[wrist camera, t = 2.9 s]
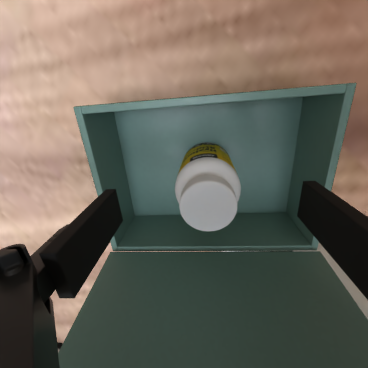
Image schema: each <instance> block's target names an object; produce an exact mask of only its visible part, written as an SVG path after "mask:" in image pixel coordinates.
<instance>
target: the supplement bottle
mask: <svg viewBox="0 0 368 368" xmlns="http://www.w3.org/2000/svg"><path fill="white" fill-rule="evenodd" d="M240 193H241V185H240V181H239V177H238V175H237V173H236V170H235V168H234V166H233V164H232V161H231V159H230V157H229V155H228V154H227V152H226V151H225V150H224V149H223V148H222V147H221V146H219V145H217V144H215V143H211V142H203V143H199V144H197V145H195V146H193V147H192V148H190V149H189V150H188V152H187V153H186V154H185V156H184V159H183V161H182V164H181V167H180V170H179V173H178V176H177V179H176V183H175V194H176V198H177V201H178V203H179V208H180V213H181V215H182V217H183V219H184V220H185V222H186V223H187V224H189V225H190V226H191V227H193V228H195V229H198V230H201V231H216V230H219V229H222V228H224V227H226V226H227V225H228V224H230V223H231V221H232V220H233V219H234V217H235V215H236V212H237V202H238V200H239V197H240Z"/></svg>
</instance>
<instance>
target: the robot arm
mask: <svg viewBox="0 0 368 368" xmlns="http://www.w3.org/2000/svg"><path fill="white" fill-rule="evenodd" d="M297 217H298V218H299V219H300V220H301V221H302V223H303V224H304V225H305V226H306V227H307V228H308V230H309V231H310V232H311V233H312V234H313V236H314V237H315V238H316V239H317V240H318V242H319V243H320V244H321V245H322V246H323V247H324V249H325V250H326V251H327V252H328V253H329V255H330V256H331V257H332V258H333V259H334V261H335V262H336V263H337V264H338V265H339V266H340V268H341V269H342V270H343V271H344V272H345V274H346V275H347V276H348V277H349V278H350V280H351V281H352V282H353V283H354V284H355V285H356V287H357V288H358V289H359V290H360V291H361V293H362V294H363V295H364V296H365V297H366V299H367V300H368V216H365V215H364V214H362V213H361V212H359V211H358V210H357V209H355V208H354V207H352V206H351V205H349V204H348V203H347V202H345V201H344V200H342V199H341V198H339V197H338V196H336V195H335V194H334V193H332V192H331V191H329V190H328V189H326V188H325V187H324V186H322V185H321V184H319V183H318V182H316V181H303V184H302V190H301V196H300V201H299V207H298V213H297ZM122 222H123V217H122V213H121V209H120V205H119V200H118V196H117V192H116V189H106V190H105V191H104V192H103V193H102V194H100V195H99V196H98V197H97V198H96V199H95V200H94V201H93V202H92V203H91V204H90V205H89V206H88V207H87V208H86V209H85V210H84V211H83V212H82V213H81V214H80V215H79V216H78V217H77V218H76V219H75V220H73V221H72V222H71V223H70V224H68V225H66V226H64V227H63V228H61V229H59V230H58V231H57V232H56V233H55V234H54V235H53V237H51V238H50V239H49V240H47V242H45V243H44V244H43V245H42V246H41V247H40V248H39V249H38V250H37V251H36V252H35V253H33V254H32V255H31V256H30V255H29V253H28V251H27V249H26V247H25V245H23V244H15V245H11V246H8V247H5V248H3V249H1V250H0V368H60V366H59V357H58V348H57V338H56V329H55V320H54V311H53V302H52V300H51V298H50V296H51V295H52V293H53V292H54V291H55V289H56V291H57V294H58V296H59V298H75V297H76V295H77V293H78V292H79V290H80V289H81V287H82V285H83V284H84V282H85V281H86V279H87V277H88V276H89V274H90V273H91V271H92V269H93V268H94V266H95V265H96V263H97V261H98V260H99V258H100V257H101V255H102V253H103V252H104V250H105V249H106V247H107V246H108V244H109V242H110V241H111V239H112V238H113V236H114V234H115V233H116V231H117V230H118V228H119V226H120V225H121V223H122Z"/></svg>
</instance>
